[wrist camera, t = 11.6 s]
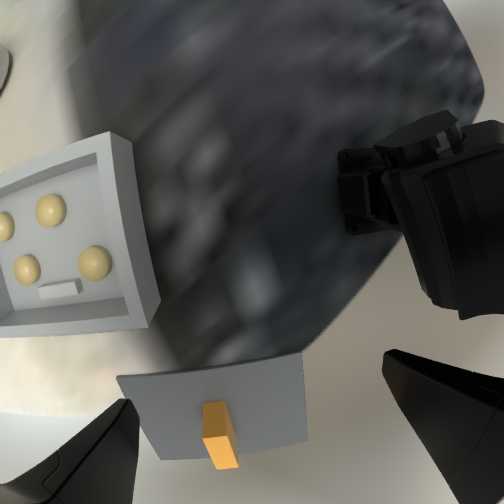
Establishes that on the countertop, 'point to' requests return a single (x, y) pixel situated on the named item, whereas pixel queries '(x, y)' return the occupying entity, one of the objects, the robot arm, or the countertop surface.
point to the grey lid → (221, 408)
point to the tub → (74, 243)
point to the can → (3, 65)
